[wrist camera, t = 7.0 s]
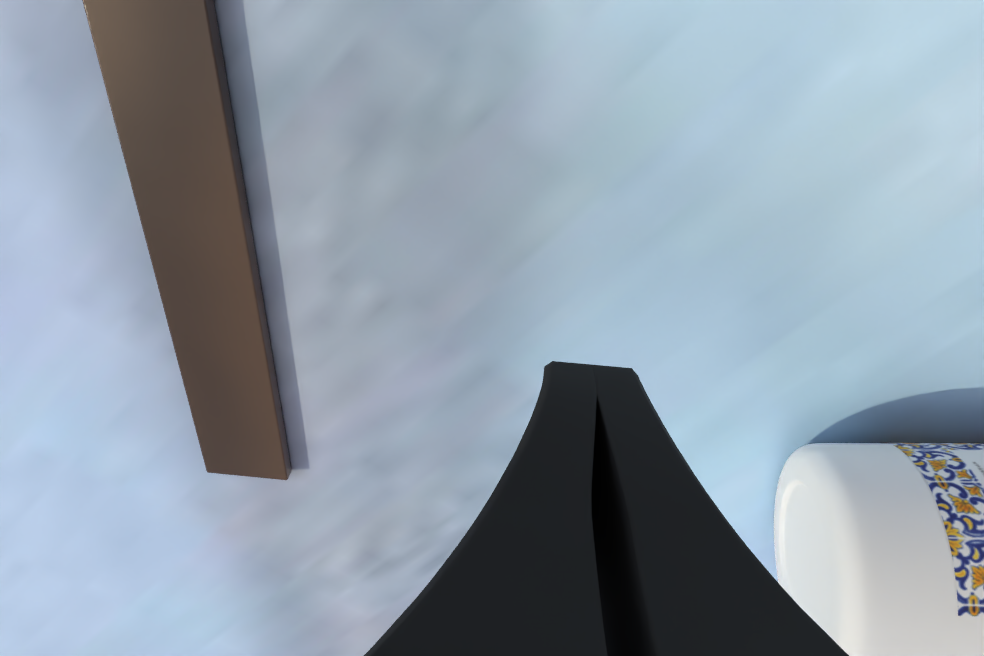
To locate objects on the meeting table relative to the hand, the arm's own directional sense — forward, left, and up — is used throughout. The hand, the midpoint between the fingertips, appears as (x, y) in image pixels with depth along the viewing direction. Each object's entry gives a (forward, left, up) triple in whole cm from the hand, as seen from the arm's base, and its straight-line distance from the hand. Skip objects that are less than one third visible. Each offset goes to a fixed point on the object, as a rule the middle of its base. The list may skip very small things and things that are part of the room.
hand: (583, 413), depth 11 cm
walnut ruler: (+11, 0, -9) cm, 14 cm away
